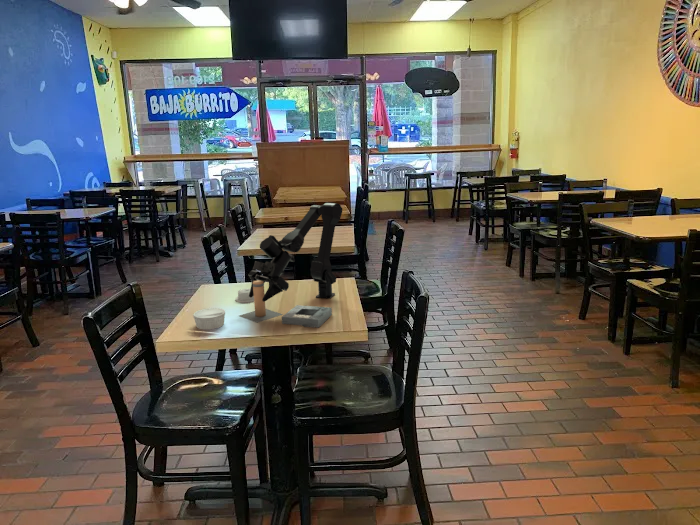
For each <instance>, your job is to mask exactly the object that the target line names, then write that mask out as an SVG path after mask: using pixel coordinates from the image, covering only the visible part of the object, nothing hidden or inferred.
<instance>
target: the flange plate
mask: <svg viewBox="0 0 700 525" xmlns="http://www.w3.org/2000/svg"><path fill="white" fill-rule="evenodd" d="M331 315H333V309H332V307H328V306H327V307H326V306H315V305H300V304H296V305H295V306H294V307H293V308H291V309H290V310H289V311H288V312H286V313H284V314H283V315H281V324H283V325H294V326H295V325H296V326H301V327H302V326H304V328H305V327H306V328H315V327H316V328H320V327H321V326H323V324H324V323H325V322H327V321H328V319H329V317H330V316H331ZM330 318H331V317H330ZM316 328H315V329H316Z"/></svg>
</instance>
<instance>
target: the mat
mask: <svg viewBox="0 0 700 525" xmlns="http://www.w3.org/2000/svg"><path fill="white" fill-rule="evenodd" d="M283 315H284V313H281V312H277V311H274V310H271V309H268V308H266V315H265V316H262V317H257V316H255V310H252V311H250V312H247V313H244V314H240V315H238V317H240V318H243V319H246V320H248V321H251V322H254V323H257V324H258V323H261V322H264V321H267V320H270V319H274V318H276V317H280V316H283Z"/></svg>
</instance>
